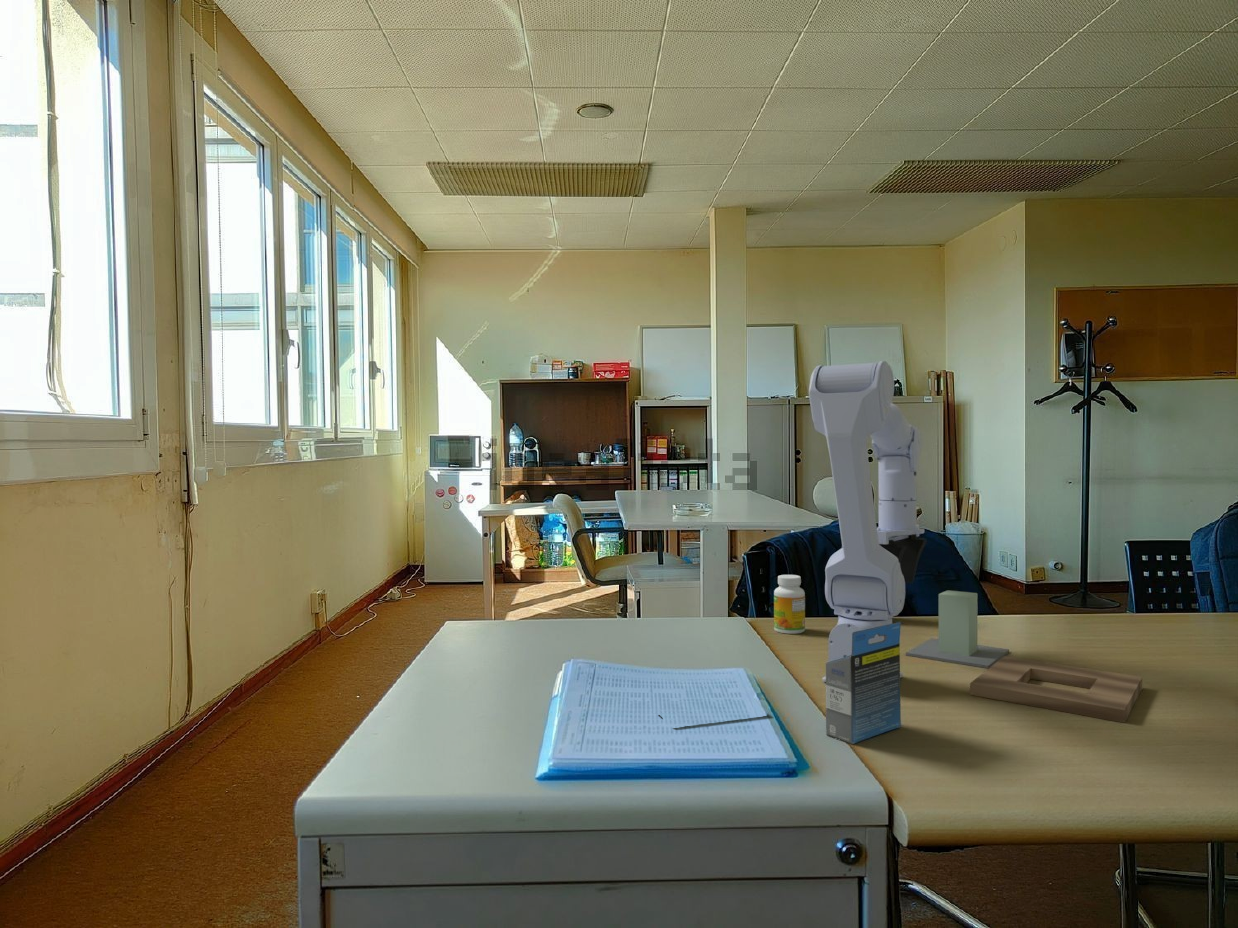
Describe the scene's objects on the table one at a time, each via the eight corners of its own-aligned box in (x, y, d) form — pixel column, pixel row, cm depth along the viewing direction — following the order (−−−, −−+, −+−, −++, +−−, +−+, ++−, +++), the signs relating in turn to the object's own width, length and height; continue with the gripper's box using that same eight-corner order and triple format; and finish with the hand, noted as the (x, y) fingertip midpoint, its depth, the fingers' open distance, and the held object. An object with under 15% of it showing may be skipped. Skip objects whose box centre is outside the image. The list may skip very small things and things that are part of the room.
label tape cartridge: (873, 718, 93) (873, 615, 93) (902, 728, 90) (902, 621, 89) (824, 735, 88) (824, 625, 87) (853, 745, 84) (852, 632, 84)
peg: (968, 656, 119) (968, 597, 119) (938, 651, 122) (938, 594, 122) (977, 650, 122) (977, 593, 122) (947, 645, 125) (947, 590, 125)
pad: (988, 668, 114) (988, 665, 114) (905, 655, 121) (905, 652, 121) (1009, 651, 123) (1009, 649, 123) (931, 640, 131) (931, 638, 131)
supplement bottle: (767, 629, 140) (767, 575, 140) (792, 626, 142) (792, 573, 142) (786, 635, 135) (786, 579, 135) (811, 632, 137) (811, 577, 137)
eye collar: (1124, 722, 91) (1124, 709, 91) (970, 694, 102) (970, 683, 102) (1142, 688, 104) (1142, 676, 104) (1003, 666, 115) (1003, 656, 115)
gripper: (906, 503, 116) (906, 594, 116) (938, 498, 127) (938, 581, 127) (860, 501, 120) (860, 589, 120) (894, 497, 131) (895, 577, 132)
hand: (897, 585), depth 124 cm, fingers open, 7 cm apart
